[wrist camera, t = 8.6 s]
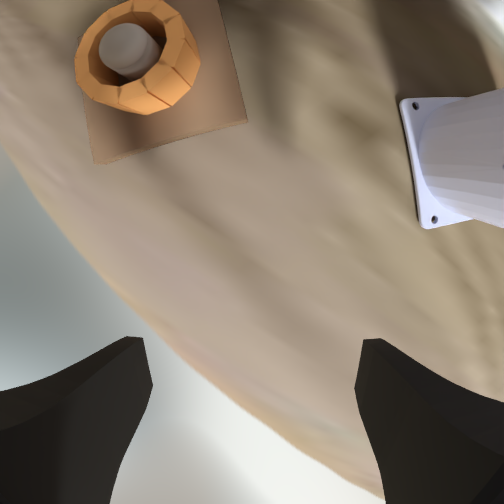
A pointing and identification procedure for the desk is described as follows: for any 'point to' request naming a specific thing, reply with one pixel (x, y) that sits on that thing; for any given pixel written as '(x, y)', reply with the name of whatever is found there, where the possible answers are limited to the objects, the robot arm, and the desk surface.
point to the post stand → (187, 107)
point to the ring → (158, 77)
